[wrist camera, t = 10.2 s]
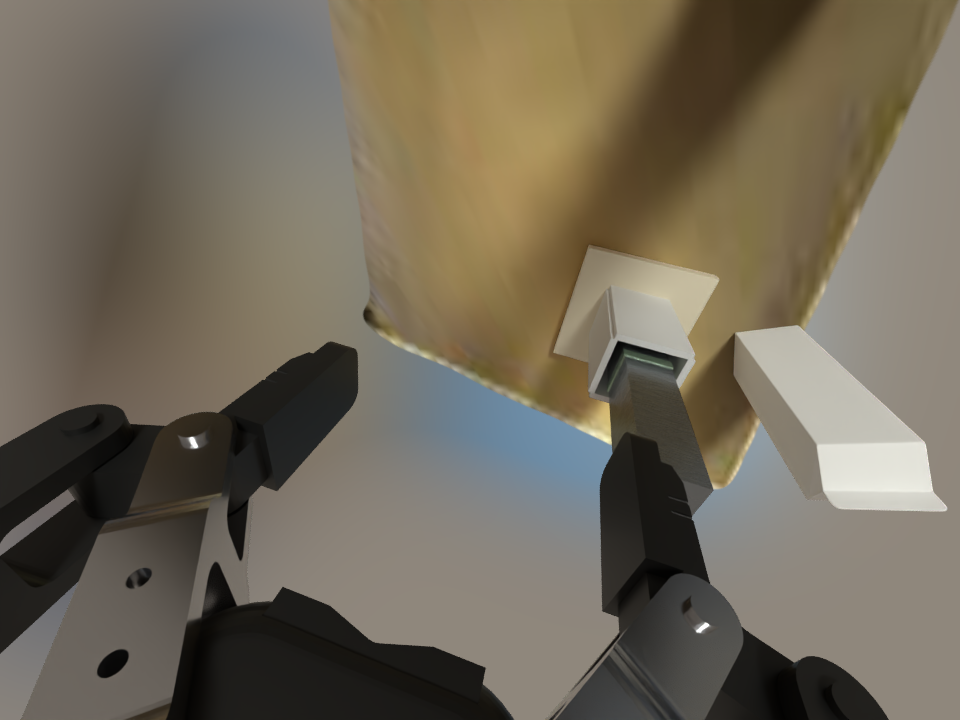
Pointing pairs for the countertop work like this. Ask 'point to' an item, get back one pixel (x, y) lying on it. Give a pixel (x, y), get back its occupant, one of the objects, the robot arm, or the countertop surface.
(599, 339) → the sleeve stand
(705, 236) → the countertop surface
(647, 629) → the robot arm
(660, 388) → the steel post
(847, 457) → the milk
